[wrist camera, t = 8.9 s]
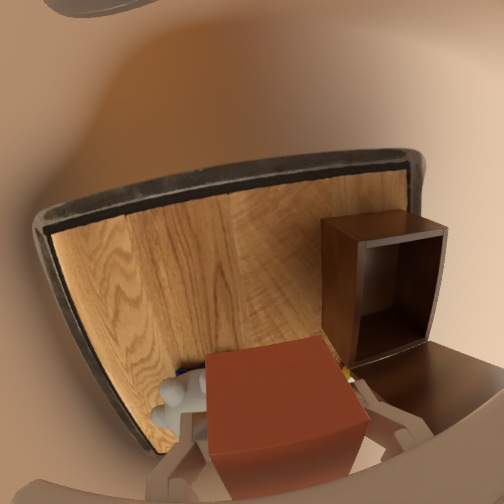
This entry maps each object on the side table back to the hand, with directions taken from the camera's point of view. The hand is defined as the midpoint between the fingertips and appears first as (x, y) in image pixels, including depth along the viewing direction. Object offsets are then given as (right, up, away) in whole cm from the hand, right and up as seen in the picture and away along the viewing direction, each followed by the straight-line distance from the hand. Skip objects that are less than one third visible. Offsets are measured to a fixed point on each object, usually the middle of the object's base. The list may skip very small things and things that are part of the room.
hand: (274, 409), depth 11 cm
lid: (+16, -5, +9) cm, 19 cm away
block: (0, 0, +2) cm, 2 cm away
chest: (+13, +4, +23) cm, 27 cm away
